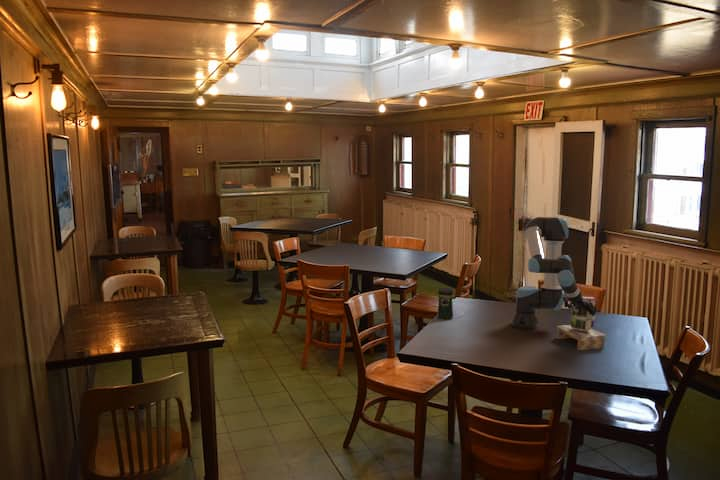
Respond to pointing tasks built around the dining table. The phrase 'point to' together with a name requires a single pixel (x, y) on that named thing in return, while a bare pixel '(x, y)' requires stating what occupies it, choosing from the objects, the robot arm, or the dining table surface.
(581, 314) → the coffee can
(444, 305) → the coffee jar
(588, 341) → the birch shelf
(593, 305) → the candy bar box
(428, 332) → the dining table surface
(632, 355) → the dining table surface
